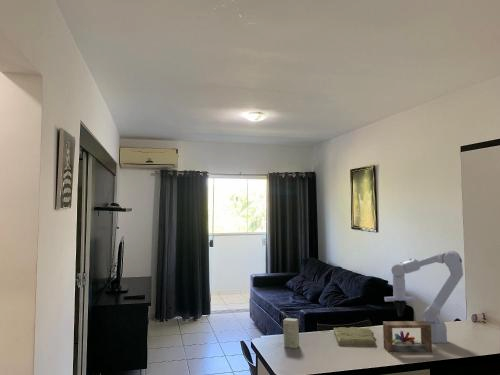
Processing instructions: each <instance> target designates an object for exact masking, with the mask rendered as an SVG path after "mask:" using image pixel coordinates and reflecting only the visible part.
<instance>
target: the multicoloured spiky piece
mask: <svg viewBox="0 0 500 375" xmlns="http://www.w3.org/2000/svg"><path fill="white" fill-rule="evenodd" d="M399 333H400V335H399V334H398V333H397V332H396V333H393V334H394V337H395V338H394V339H393V344H416V343H415V339H416V338H415V337H414V336H411V337H410V331H407V332H406V333H405V334H404V331H403V330H400V332H399Z"/></svg>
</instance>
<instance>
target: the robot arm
mask: <svg viewBox="0 0 500 375" xmlns="http://www.w3.org/2000/svg"><path fill="white" fill-rule="evenodd" d="M434 263H437V264H438V263H439V264H445V266H446V267H447V268H448V270H449V273H450V274H449V277H448V278H447V279H446V281H445V282H444V284H443V286H442V287H441V288H440V290H439V291H438V293H437V295H436V296H435V298H434V299H433V301H432V303H431V304H429V305H428V306H427V307H426V308H425V309H424V310H423V312H422V317H423V321H425V322H427V323H428V324H430V325H431V337H432V344H448V343H449V342H448V335H447V334H448V331H447V330H448V329H447V325H446V323H445V322H444V321H443V320H440V319H439V317H440V316H441V310H442V308H443V307H444V305H445V304H446V302H447V300H448V299H449V297H450V296H451V295H452V293H453V292H454V290H455V289H456V287H457V285H458V284H459V283H460V281H461V279H462V278H463V276H464V269H463V259H462V257H461V255H460V254H459V253H458V252H457V251H455V250H450V251H445V252H440V253H436V254H433V255H430V256H427V257H425V258H421V259H419V260H418V259H416V258H409V259H408V260H407V261H401V262H399V263H396V264H395V265H393V266H391V274H392V289H393V290H392V291H393V292H392V295H393V296H384V297H383V298H384V299H383V300H384V302H393V305H394V307H395V310H396V314H397V316H398V317H403V313H404V310H405V308H406V306H407V304H408V303H407V302H413V303H414V302H415V301H416V298H415V297H414V296H406V295H407V294H406V279H405V277H406V276H405V274H406V275H407V274H410V273H414V272H418V271H420V270H421V267H424V266H428V265H431V264H434Z"/></svg>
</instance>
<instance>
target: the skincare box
mask: <svg viewBox="0 0 500 375" xmlns="http://www.w3.org/2000/svg"><path fill="white" fill-rule="evenodd" d="M282 323H283V347H284V348H291V349H298V348H299V347H300V332H299V331H300V328H299V326H300V325H299V319H298V318H291V317H286V318H284V319H283V320H282Z"/></svg>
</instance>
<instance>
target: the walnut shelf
mask: <svg viewBox="0 0 500 375" xmlns="http://www.w3.org/2000/svg"><path fill="white" fill-rule="evenodd" d="M393 329H420V343H415V344H394V343H393V338H394V336H393V334H394V333H393ZM382 331H383V333H382V334H383V335H382V336H383V348H384V350H386V352H387V353H388V354H389V353H391V354H392V353H398V354H399V353H402V354H403V353H411V354H412V353H414V354H416V353H424V354H425V353H431V354H432V353H433V346H432V345H433V343H432V337H431V325H430V324H428V323H427V322H425V321H424V320H423V321H421V320H418V321H417V320H416V321H415V320H413V321H411V320H410V321H409V320H405V321H402V320H401V321H400V320H399V321H397V320H396V321H395V320H394V321H391V320H390V321H382Z"/></svg>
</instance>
